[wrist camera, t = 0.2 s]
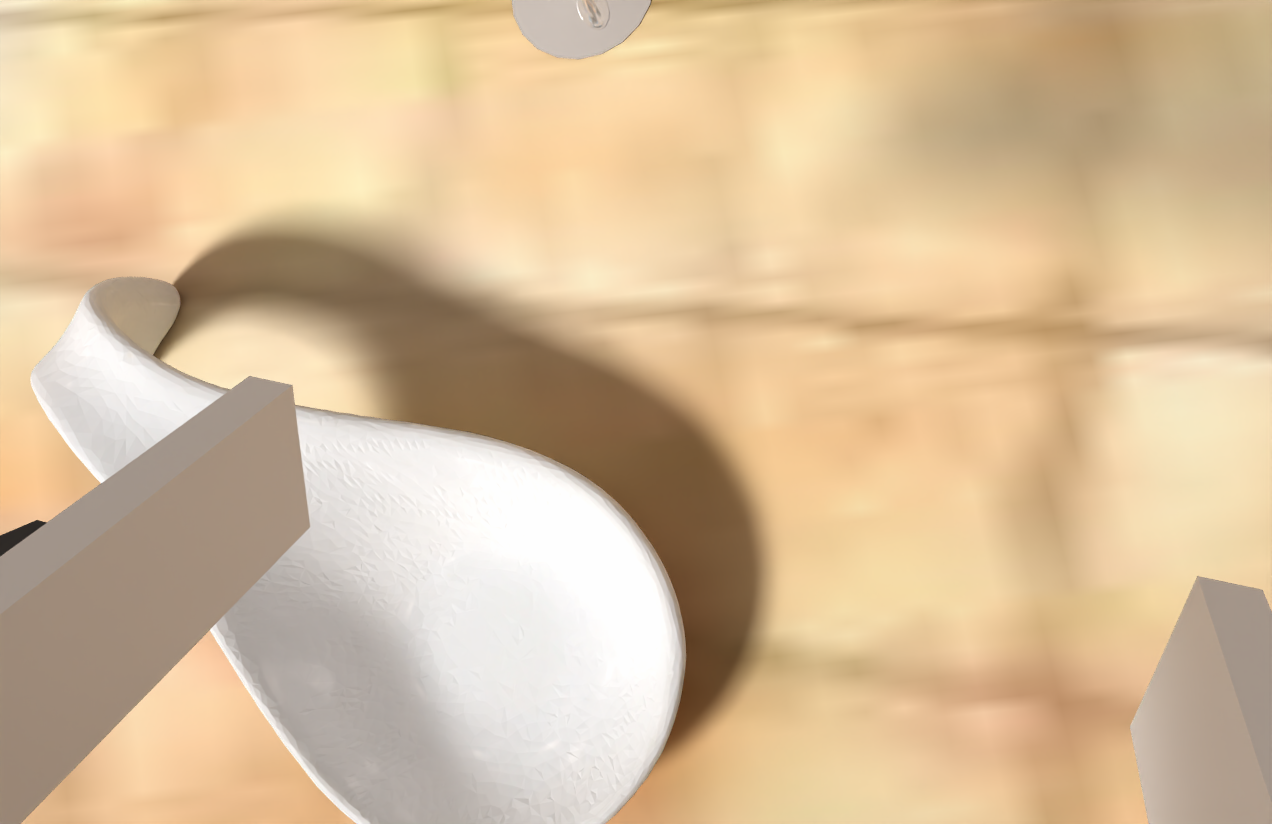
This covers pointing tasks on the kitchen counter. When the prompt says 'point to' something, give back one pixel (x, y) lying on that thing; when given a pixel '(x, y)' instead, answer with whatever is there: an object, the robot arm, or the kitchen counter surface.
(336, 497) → the spoon rest
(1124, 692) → the kitchen counter surface
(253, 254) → the kitchen counter surface
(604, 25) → the wineglass
